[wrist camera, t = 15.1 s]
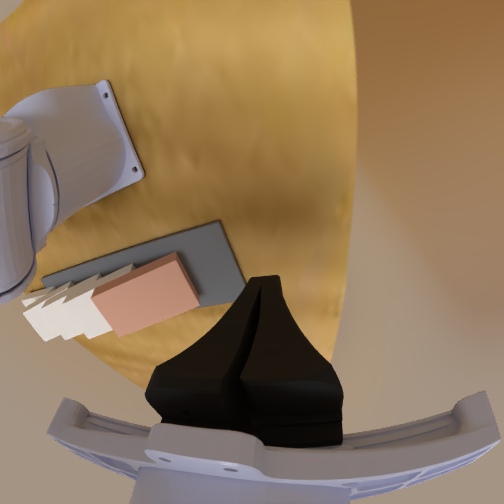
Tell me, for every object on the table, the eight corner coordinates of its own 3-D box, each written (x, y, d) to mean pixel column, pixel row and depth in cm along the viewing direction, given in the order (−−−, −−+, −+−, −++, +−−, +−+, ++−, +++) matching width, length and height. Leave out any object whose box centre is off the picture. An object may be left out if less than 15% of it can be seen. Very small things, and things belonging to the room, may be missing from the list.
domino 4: (132, 262, 25) (66, 295, 25) (130, 271, 24) (61, 304, 23) (156, 302, 28) (92, 329, 27) (155, 312, 26) (88, 339, 25)
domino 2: (71, 280, 28) (27, 305, 27) (67, 287, 26) (22, 313, 25) (93, 312, 30) (48, 333, 29) (90, 320, 29) (45, 341, 28)
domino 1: (54, 285, 29) (27, 293, 31) (46, 294, 27) (21, 300, 30) (74, 315, 31) (45, 318, 34) (68, 324, 30) (39, 326, 32)
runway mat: (42, 277, 29) (40, 279, 29) (219, 220, 22) (218, 222, 22) (73, 322, 33) (72, 324, 33) (251, 295, 26) (250, 298, 26)
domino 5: (175, 251, 24) (94, 288, 23) (175, 260, 22) (90, 298, 22) (198, 295, 26) (121, 326, 26) (200, 305, 25) (119, 337, 24)
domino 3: (99, 272, 27) (46, 300, 26) (95, 280, 25) (40, 308, 24) (122, 308, 29) (69, 331, 28) (120, 317, 27) (65, 340, 27)
